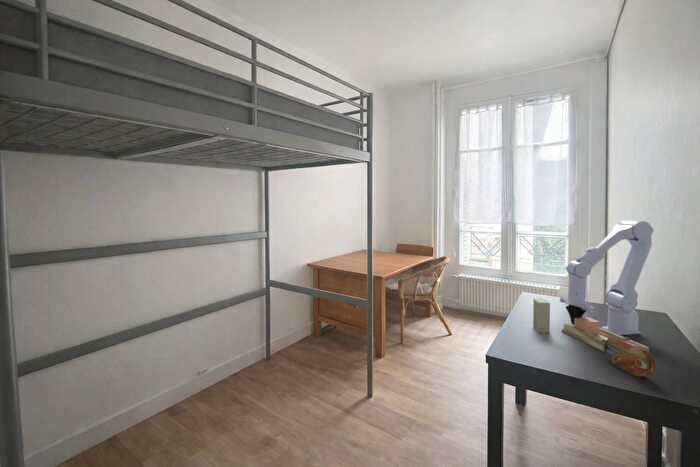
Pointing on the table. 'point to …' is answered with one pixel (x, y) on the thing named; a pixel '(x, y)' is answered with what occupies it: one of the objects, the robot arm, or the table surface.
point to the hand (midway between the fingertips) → (575, 324)
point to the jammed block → (587, 325)
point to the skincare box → (541, 315)
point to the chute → (596, 337)
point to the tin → (629, 357)
